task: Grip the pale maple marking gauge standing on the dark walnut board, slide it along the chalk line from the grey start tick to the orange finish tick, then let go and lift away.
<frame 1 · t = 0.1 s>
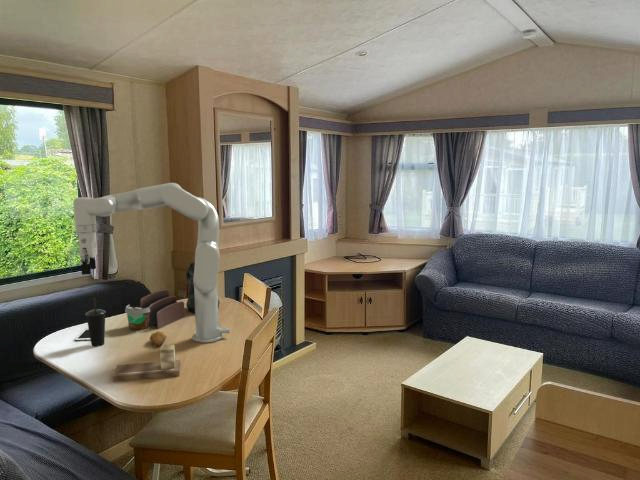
hand: (89, 271, 199), 31 cm above the table, tool pointing down, fingers open, 9 cm apart
food container: (135, 329, 225), on the table
cell phone: (89, 336, 217), on the table
letter holder: (163, 322, 236), on the table
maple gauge: (168, 365, 180), point 2 cm above the table, touching walnut board
croissant: (158, 343, 208), on the table
drinking cup: (98, 344, 206), on the table
walnut board: (148, 373, 178), on the table
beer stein: (200, 309, 255), on the table
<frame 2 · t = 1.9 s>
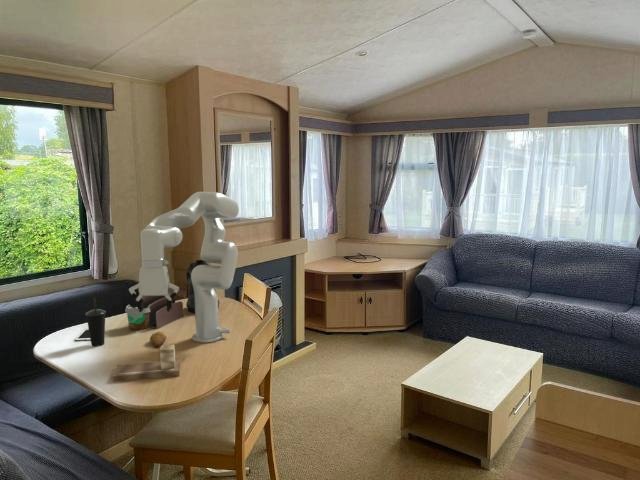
hand: (155, 310, 179), 22 cm above the table, tool pointing down, fingers open, 9 cm apart
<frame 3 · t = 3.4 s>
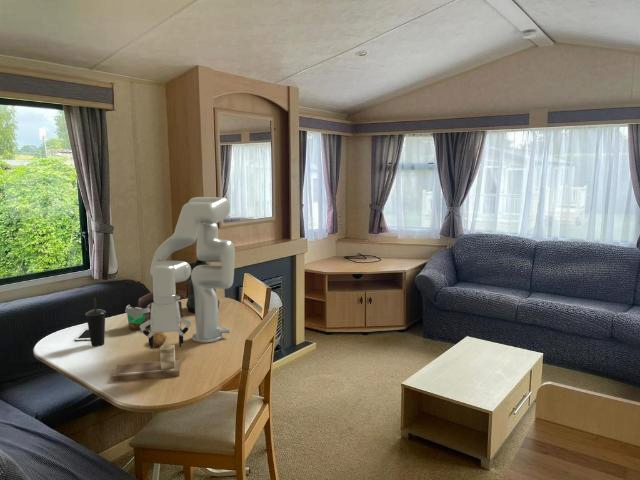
hand: (166, 346, 178), 9 cm above the table, tool pointing down, fingers open, 9 cm apart
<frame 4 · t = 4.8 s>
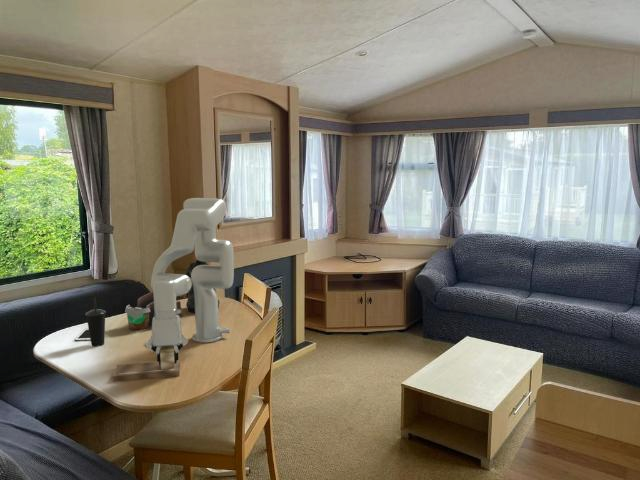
hand: (168, 362, 179), 3 cm above the table, tool pointing down, fingers closed on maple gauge, 4 cm apart
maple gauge: (168, 365, 180), point 2 cm above the table, touching gripper, walnut board
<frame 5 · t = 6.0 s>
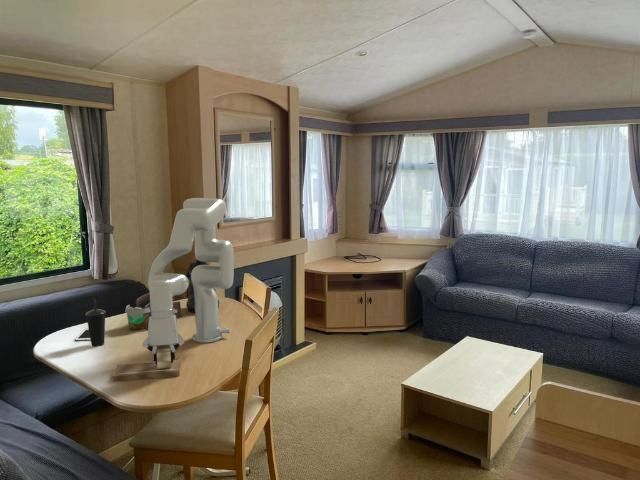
hand: (164, 361, 179), 4 cm above the table, tool pointing down, fingers closed on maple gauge, 4 cm apart
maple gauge: (164, 365, 179), point 2 cm above the table, touching gripper
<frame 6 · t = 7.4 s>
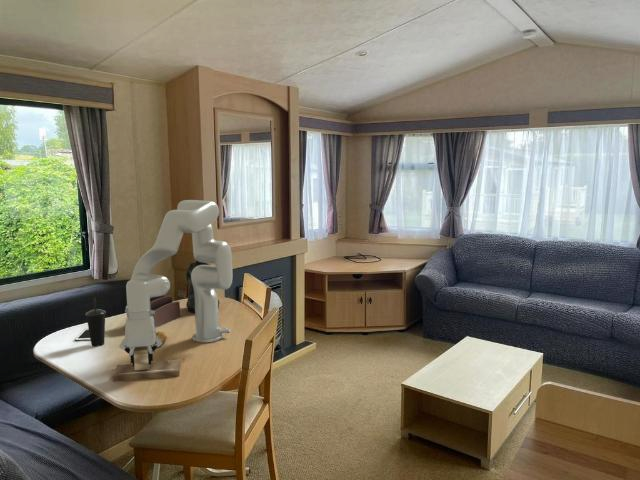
hand: (142, 363, 177), 4 cm above the table, tool pointing down, fingers closed on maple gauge, 4 cm apart
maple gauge: (142, 367, 177), point 2 cm above the table, touching gripper
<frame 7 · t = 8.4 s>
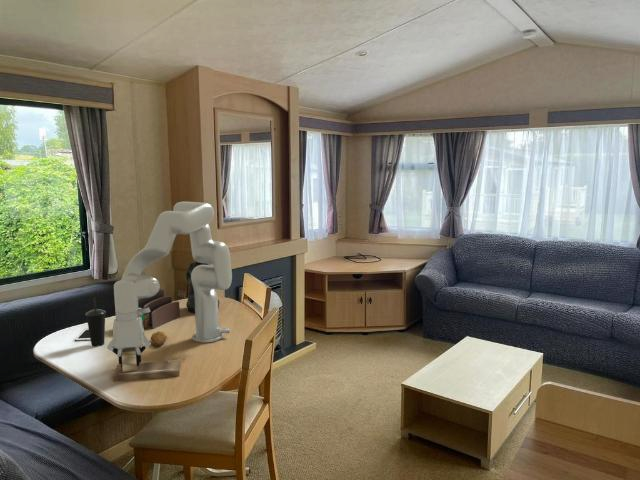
hand: (130, 364, 176), 4 cm above the table, tool pointing down, fingers closed on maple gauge, 4 cm apart
food container: (135, 329, 225), on the table, touching letter holder
letter holder: (158, 322, 236), on the table, touching food container
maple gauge: (130, 368, 177), point 2 cm above the table, touching gripper
everything else where it was.
when the fingers open (4 cm above the table, at t = 9.5 s): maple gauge stays where it is, resting on walnut board.
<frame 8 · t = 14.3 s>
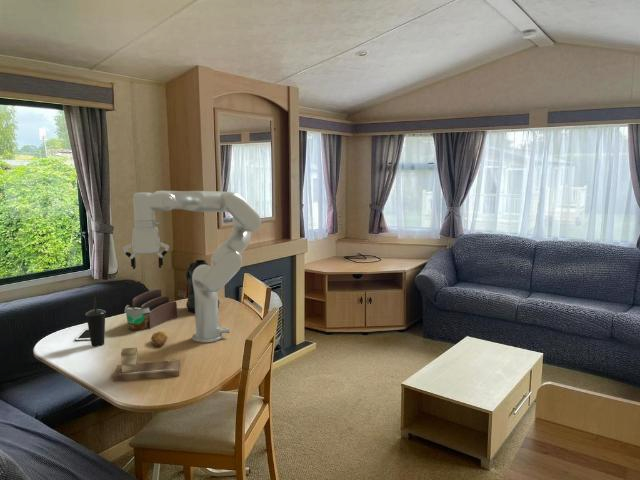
hand: (147, 267, 196), 33 cm above the table, tool pointing down, fingers open, 9 cm apart
food container: (135, 329, 224), on the table
letter holder: (156, 321, 236), on the table
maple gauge: (130, 369, 177), point 2 cm above the table, touching walnut board
everything else where it was.
at the end: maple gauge 0.0 cm from the target spot, point 2.0 cm above the table; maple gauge tilted 0°; the gripper is holding nothing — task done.
